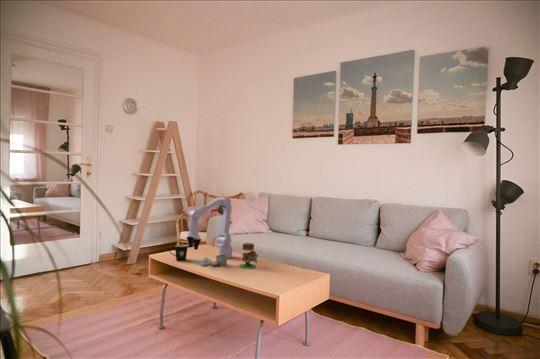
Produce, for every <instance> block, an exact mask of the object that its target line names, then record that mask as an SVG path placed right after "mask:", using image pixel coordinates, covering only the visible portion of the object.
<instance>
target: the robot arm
mask: <svg viewBox="0 0 540 359" xmlns="http://www.w3.org/2000/svg"><path fill="white" fill-rule="evenodd" d="M216 206H218V207H220V208H222V210H223V212H222V220H221V221H222V222H221V228H220V229H221V230H220V232H219V233H218V236H217V239H216V242H217V244H218V255H225V256H227V259H231V258H233V247H232V245H231V243H232V239H231V236H232V235H231V233H230V232H229V231H230V225H231V224H230V223H231V216H232V200H231V199H230V198H229V197H222V196H217V197H216V198H214V199H213V200H211V201H210V202H209V203H207V204H206V205H205V204H200V206H199V207H198V208H197V207H196V208H194V209H193V210H190V211H189V212H188V215H187V216H188V218H189V232H187V236H186V240H187V243H188V247H189V248H193V249H194V250H195V251H196V250H198V249H199V246H200V243H201V241H202V239H201V236H200V235H199V219H200V218H201V217H202V216H203V215H206V214H207V213H208V211H209V210H211V209H212V208H214V207H216Z"/></svg>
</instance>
